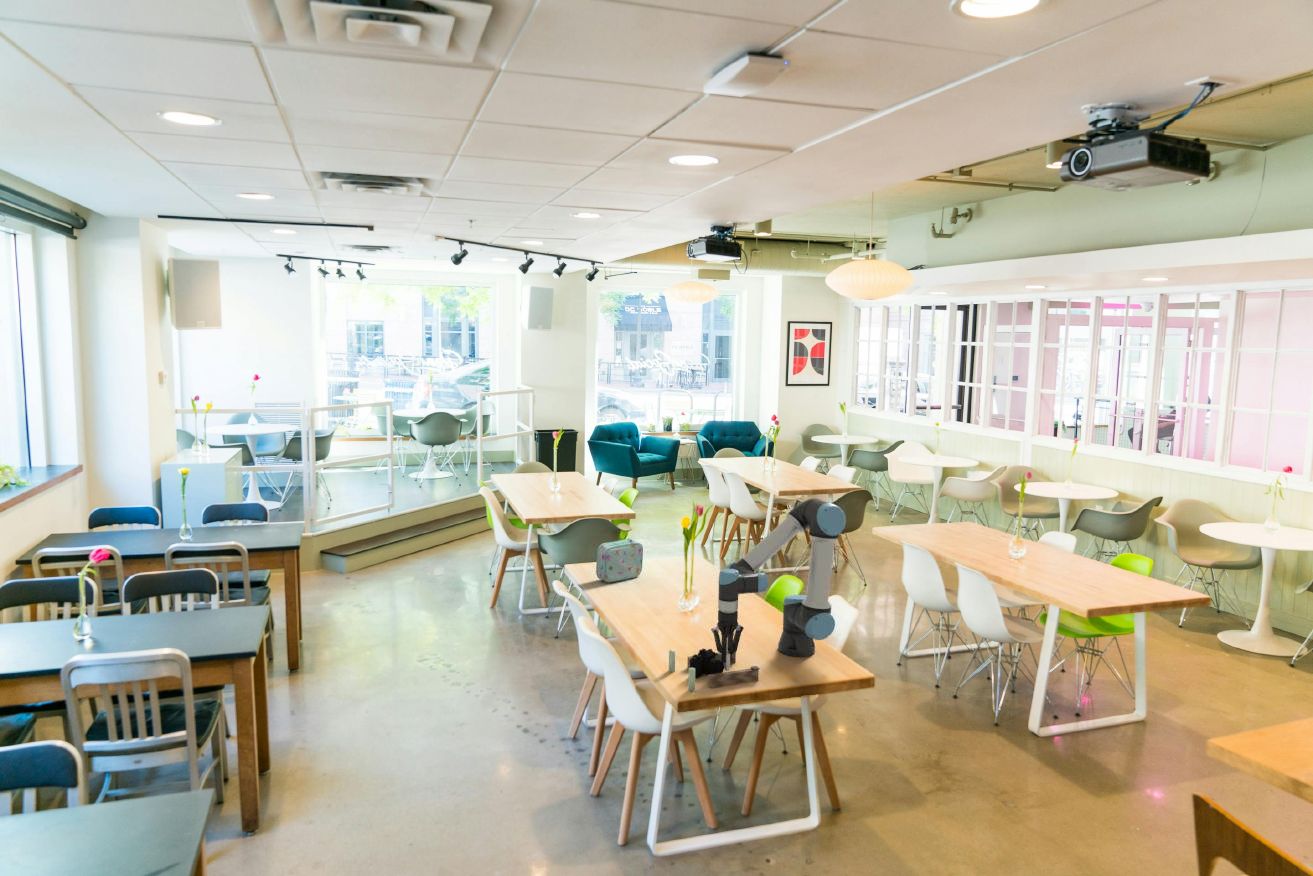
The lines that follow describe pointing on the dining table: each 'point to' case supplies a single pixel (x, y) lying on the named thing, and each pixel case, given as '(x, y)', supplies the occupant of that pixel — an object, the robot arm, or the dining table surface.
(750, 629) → the dining table surface
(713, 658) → the film camera
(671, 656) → the posts
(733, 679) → the chute
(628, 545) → the lunch box
